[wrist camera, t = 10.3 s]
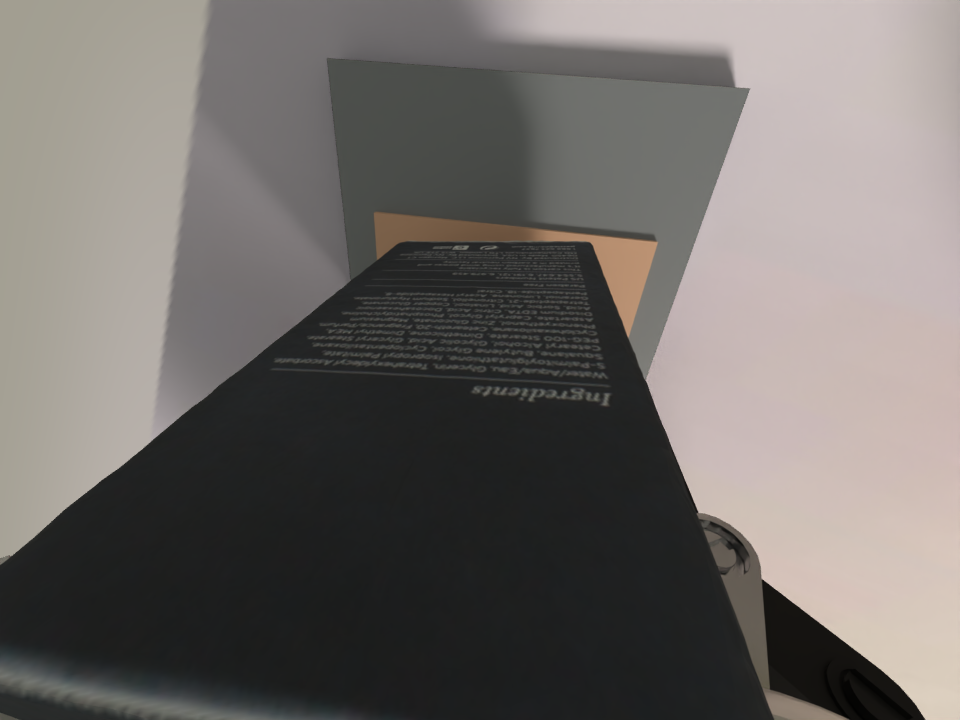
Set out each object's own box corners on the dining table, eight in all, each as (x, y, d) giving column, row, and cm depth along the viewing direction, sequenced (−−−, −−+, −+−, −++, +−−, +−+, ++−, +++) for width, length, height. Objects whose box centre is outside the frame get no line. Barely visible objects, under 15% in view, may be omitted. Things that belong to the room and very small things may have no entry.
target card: (604, 475, 19) (607, 491, 18) (375, 440, 20) (367, 454, 19) (737, 91, 11) (753, 87, 10) (339, 62, 12) (323, 57, 11)
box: (396, 238, 11) (-177, 663, 2) (594, 237, 11) (912, 866, 2) (425, 439, 15) (259, 881, 6) (570, 449, 14) (618, 967, 6)
